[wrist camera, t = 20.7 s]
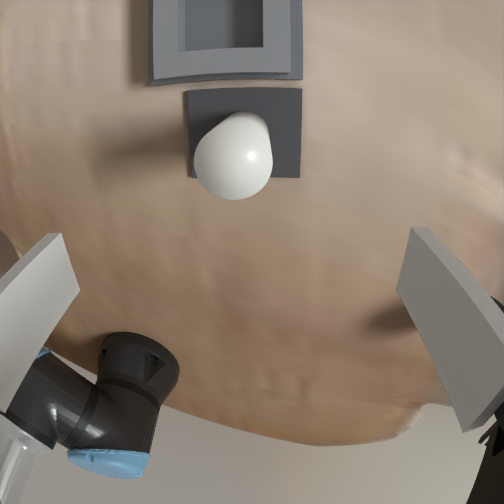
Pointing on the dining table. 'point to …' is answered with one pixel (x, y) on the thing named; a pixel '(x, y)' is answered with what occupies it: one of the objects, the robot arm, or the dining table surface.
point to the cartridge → (235, 156)
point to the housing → (224, 40)
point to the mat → (264, 104)
